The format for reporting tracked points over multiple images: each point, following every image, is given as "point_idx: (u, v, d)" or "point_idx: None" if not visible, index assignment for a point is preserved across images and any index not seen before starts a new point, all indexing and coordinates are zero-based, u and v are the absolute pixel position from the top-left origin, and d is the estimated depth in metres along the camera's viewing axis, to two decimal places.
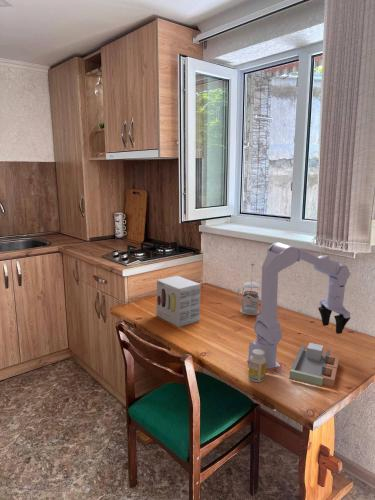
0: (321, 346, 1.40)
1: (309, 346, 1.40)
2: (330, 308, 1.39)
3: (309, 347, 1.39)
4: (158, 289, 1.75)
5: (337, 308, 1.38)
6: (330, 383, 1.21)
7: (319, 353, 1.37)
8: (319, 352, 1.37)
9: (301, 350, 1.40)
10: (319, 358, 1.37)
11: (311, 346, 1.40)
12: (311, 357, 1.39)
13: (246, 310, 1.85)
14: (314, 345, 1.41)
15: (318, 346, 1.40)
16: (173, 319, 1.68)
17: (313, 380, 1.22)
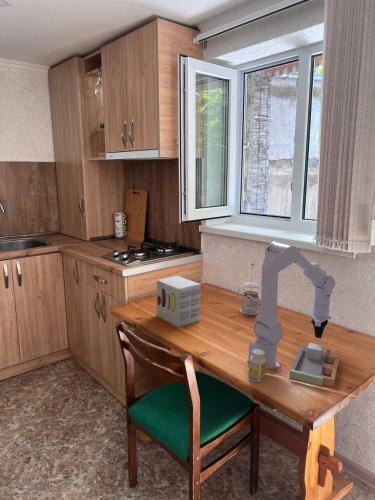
0: (321, 346, 1.40)
1: (309, 346, 1.40)
2: (312, 315, 1.45)
3: (309, 347, 1.39)
4: (158, 289, 1.75)
5: (317, 316, 1.43)
6: (330, 383, 1.21)
7: (319, 353, 1.37)
8: (319, 352, 1.37)
9: (301, 350, 1.40)
10: (319, 358, 1.37)
11: (311, 346, 1.40)
12: (311, 357, 1.39)
13: (246, 310, 1.85)
14: (314, 345, 1.41)
15: (318, 346, 1.40)
16: (173, 319, 1.68)
17: (313, 380, 1.22)
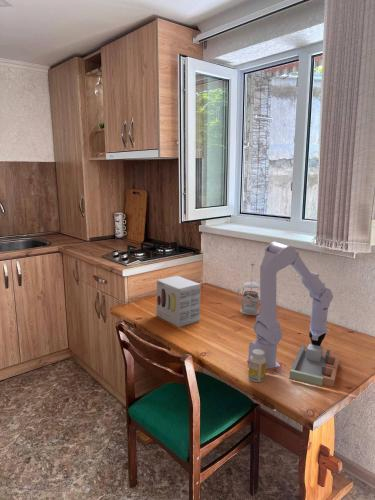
0: (321, 347, 1.39)
1: (309, 347, 1.39)
2: (309, 328, 1.42)
3: (308, 348, 1.38)
4: (158, 289, 1.75)
5: (314, 329, 1.39)
6: (330, 383, 1.21)
7: (319, 354, 1.36)
8: (319, 353, 1.36)
9: (301, 350, 1.40)
10: (319, 359, 1.37)
11: (310, 347, 1.39)
12: (311, 358, 1.38)
13: (246, 310, 1.85)
14: (314, 346, 1.40)
15: (318, 347, 1.39)
16: (173, 319, 1.68)
17: (313, 380, 1.22)
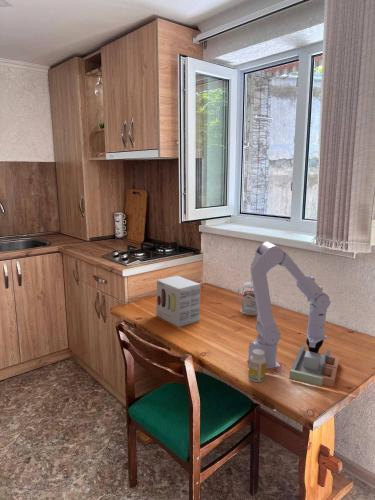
0: (319, 354, 1.34)
1: (306, 354, 1.33)
2: (307, 334, 1.36)
3: (306, 356, 1.32)
4: (158, 289, 1.75)
5: (311, 336, 1.34)
6: (330, 383, 1.21)
7: (317, 362, 1.30)
8: (317, 361, 1.30)
9: (301, 350, 1.40)
10: (317, 367, 1.31)
11: (308, 354, 1.34)
12: (308, 366, 1.32)
13: (246, 310, 1.85)
14: (311, 353, 1.34)
15: (316, 354, 1.34)
16: (173, 319, 1.68)
17: (313, 380, 1.22)
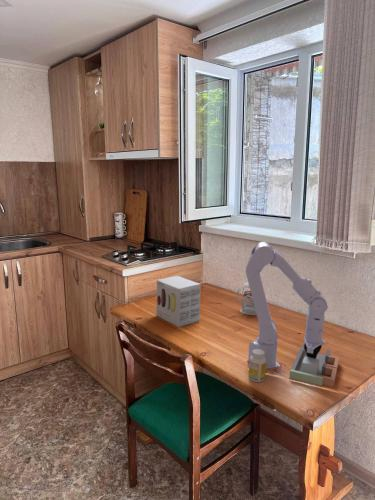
0: (317, 360, 1.29)
1: (304, 360, 1.29)
2: (304, 339, 1.32)
3: (304, 362, 1.28)
4: (158, 289, 1.75)
5: (309, 341, 1.29)
6: (330, 383, 1.21)
7: (315, 369, 1.26)
8: (315, 367, 1.26)
9: (301, 350, 1.40)
10: (315, 374, 1.26)
11: (306, 360, 1.29)
12: (306, 372, 1.28)
13: (246, 310, 1.85)
14: (310, 359, 1.30)
15: (314, 360, 1.29)
16: (173, 319, 1.68)
17: (313, 380, 1.22)
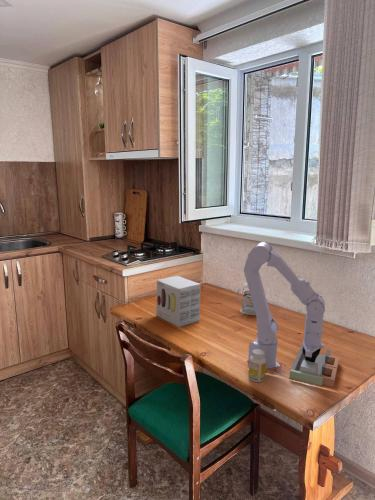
0: (316, 364, 1.27)
1: (303, 364, 1.26)
2: (303, 343, 1.29)
3: (302, 366, 1.25)
4: (158, 289, 1.75)
5: (308, 344, 1.27)
6: (330, 383, 1.21)
7: (314, 373, 1.23)
8: (314, 371, 1.23)
9: (301, 350, 1.40)
10: None
11: (305, 364, 1.27)
12: None
13: (246, 310, 1.85)
14: (308, 363, 1.27)
15: (313, 364, 1.26)
16: (173, 319, 1.68)
17: (313, 380, 1.22)
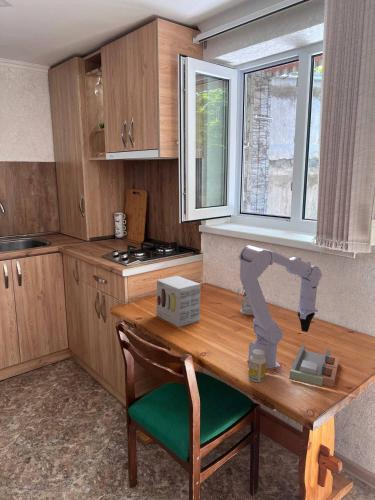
0: (316, 364, 1.27)
1: (303, 364, 1.26)
2: (298, 307, 1.39)
3: (302, 366, 1.25)
4: (158, 289, 1.75)
5: (302, 309, 1.37)
6: (330, 383, 1.21)
7: (314, 373, 1.23)
8: (314, 371, 1.23)
9: (301, 350, 1.40)
10: None
11: (305, 364, 1.27)
12: None
13: (246, 310, 1.85)
14: (308, 363, 1.27)
15: (313, 364, 1.26)
16: (173, 319, 1.68)
17: (313, 380, 1.22)
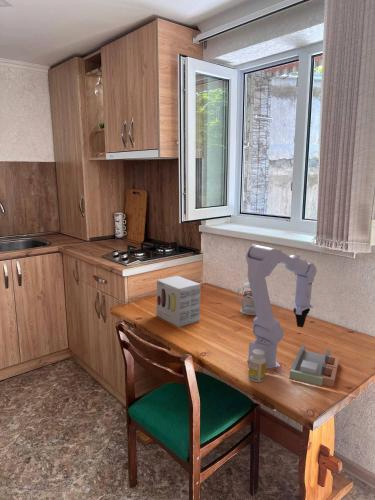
0: (316, 364, 1.27)
1: (303, 364, 1.26)
2: (294, 304, 1.43)
3: (302, 366, 1.25)
4: (158, 289, 1.75)
5: (298, 305, 1.41)
6: (330, 383, 1.21)
7: (314, 373, 1.23)
8: (314, 371, 1.23)
9: (301, 350, 1.40)
10: None
11: (305, 364, 1.27)
12: None
13: (246, 310, 1.85)
14: (308, 363, 1.27)
15: (313, 364, 1.26)
16: (173, 319, 1.68)
17: (313, 380, 1.22)
